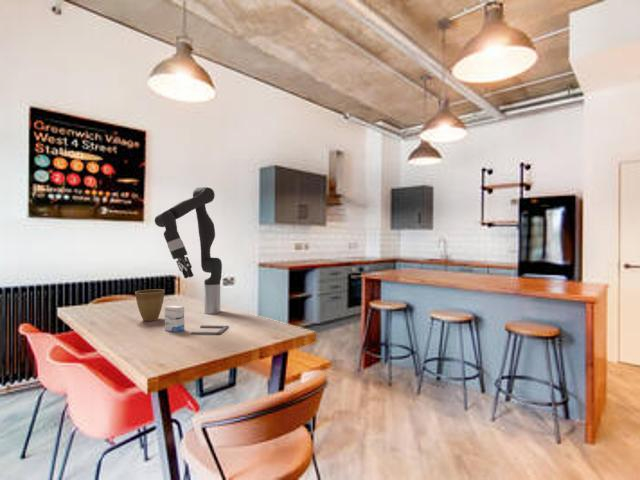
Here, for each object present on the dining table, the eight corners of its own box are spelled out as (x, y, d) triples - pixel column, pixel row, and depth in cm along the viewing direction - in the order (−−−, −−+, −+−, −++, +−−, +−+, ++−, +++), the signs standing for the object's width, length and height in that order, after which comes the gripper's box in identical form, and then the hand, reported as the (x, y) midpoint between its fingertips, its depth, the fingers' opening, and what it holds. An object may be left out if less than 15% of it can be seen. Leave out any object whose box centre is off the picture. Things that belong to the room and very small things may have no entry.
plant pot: (170, 316, 207) (169, 289, 206) (155, 323, 192) (155, 293, 191) (145, 316, 208) (145, 288, 208) (129, 322, 193) (129, 292, 193)
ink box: (184, 329, 179) (184, 306, 179) (177, 332, 175) (177, 308, 175) (172, 328, 183) (172, 304, 183) (164, 330, 178) (164, 306, 178)
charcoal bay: (201, 326, 185) (201, 325, 185) (228, 327, 184) (228, 325, 184) (190, 334, 172) (190, 332, 172) (219, 334, 171) (219, 333, 171)
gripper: (187, 244, 184) (200, 273, 185) (180, 247, 195) (192, 275, 197) (173, 249, 179) (186, 279, 181) (166, 252, 191) (178, 281, 192)
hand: (189, 277), depth 189 cm, fingers open, 8 cm apart
